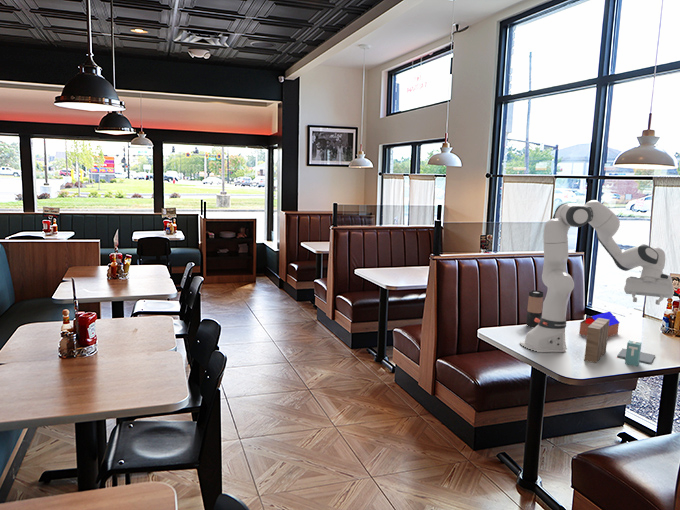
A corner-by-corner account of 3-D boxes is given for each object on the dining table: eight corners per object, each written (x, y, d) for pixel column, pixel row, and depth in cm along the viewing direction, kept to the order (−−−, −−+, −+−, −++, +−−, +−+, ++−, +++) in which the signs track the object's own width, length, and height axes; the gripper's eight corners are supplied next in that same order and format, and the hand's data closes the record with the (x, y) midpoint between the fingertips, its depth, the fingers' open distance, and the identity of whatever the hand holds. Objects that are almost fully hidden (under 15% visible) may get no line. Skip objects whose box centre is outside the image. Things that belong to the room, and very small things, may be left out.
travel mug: (541, 328, 291) (544, 293, 288) (527, 327, 292) (530, 292, 289) (539, 324, 298) (542, 290, 295) (525, 323, 300) (528, 289, 297)
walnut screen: (595, 362, 238) (599, 329, 236) (584, 360, 241) (587, 327, 239) (605, 351, 255) (609, 319, 253) (594, 348, 258) (598, 317, 256)
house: (618, 334, 285) (620, 313, 284) (600, 340, 274) (602, 318, 272) (596, 328, 295) (599, 308, 293) (578, 334, 283) (580, 313, 281)
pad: (650, 364, 239) (651, 362, 239) (617, 357, 247) (617, 355, 247) (655, 356, 250) (655, 354, 250) (622, 349, 258) (622, 348, 258)
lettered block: (637, 366, 235) (639, 344, 234) (624, 363, 238) (627, 342, 237) (639, 363, 240) (641, 342, 238) (626, 360, 243) (629, 339, 241)
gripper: (626, 272, 255) (620, 296, 250) (674, 276, 242) (670, 301, 237) (628, 279, 259) (622, 303, 254) (676, 283, 246) (671, 308, 241)
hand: (645, 302), depth 245 cm, fingers open, 8 cm apart
